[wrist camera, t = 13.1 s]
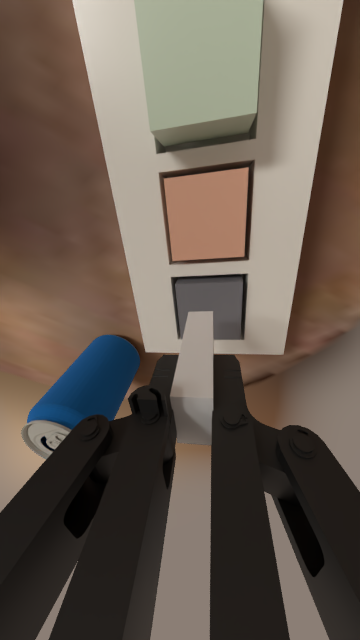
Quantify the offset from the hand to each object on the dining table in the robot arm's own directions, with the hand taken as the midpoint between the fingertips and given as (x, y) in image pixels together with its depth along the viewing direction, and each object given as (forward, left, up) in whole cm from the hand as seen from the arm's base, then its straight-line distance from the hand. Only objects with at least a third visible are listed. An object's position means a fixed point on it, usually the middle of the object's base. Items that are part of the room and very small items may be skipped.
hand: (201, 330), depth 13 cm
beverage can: (-12, -9, -9) cm, 17 cm away
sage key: (0, +13, -4) cm, 13 cm away
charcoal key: (0, 0, -6) cm, 6 cm away
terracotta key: (0, +6, -6) cm, 9 cm away
